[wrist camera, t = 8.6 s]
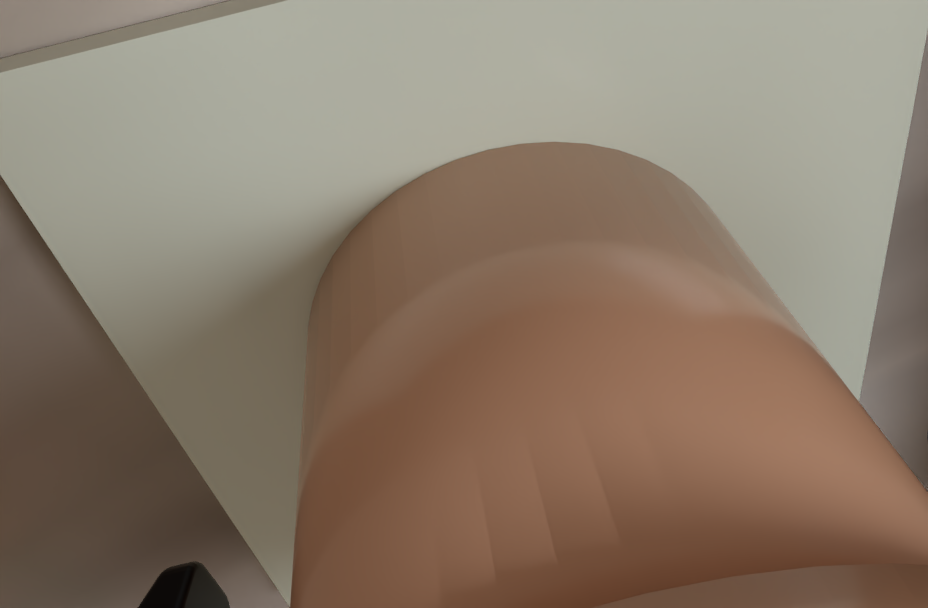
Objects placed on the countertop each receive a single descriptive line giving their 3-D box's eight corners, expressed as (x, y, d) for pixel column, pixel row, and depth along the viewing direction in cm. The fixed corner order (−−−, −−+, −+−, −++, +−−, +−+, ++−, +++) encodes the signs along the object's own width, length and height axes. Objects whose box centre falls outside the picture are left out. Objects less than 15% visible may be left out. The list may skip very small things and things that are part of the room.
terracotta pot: (754, 441, 13) (1070, 992, 7) (361, 533, 13) (373, 1139, 8) (778, 47, 9) (1607, 652, 3) (192, 192, 9) (-88, 1025, 3)
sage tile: (827, 462, 15) (843, 487, 14) (295, 585, 15) (293, 612, 15) (928, -176, 8) (964, -171, 8) (-36, 67, 8) (-59, 87, 8)
